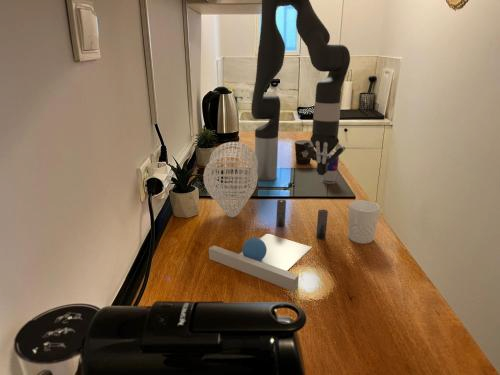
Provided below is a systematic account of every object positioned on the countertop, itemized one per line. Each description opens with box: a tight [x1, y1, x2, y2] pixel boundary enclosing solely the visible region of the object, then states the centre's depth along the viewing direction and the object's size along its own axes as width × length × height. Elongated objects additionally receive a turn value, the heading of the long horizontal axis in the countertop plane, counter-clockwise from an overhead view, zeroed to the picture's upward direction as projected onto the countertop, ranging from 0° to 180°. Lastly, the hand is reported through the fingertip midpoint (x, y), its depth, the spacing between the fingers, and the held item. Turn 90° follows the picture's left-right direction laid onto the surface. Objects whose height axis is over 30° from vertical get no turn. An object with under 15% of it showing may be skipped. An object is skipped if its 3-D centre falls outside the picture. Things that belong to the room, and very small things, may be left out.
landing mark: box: [239, 233, 313, 272], centre depth 100 cm, size 14×14×1 cm
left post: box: [275, 198, 287, 229], centre depth 113 cm, size 3×3×8 cm
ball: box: [241, 237, 266, 261], centre depth 94 cm, size 6×6×6 cm
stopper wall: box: [208, 245, 300, 292], centre depth 90 cm, size 24×2×3 cm, turn 56°
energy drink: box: [322, 150, 340, 185], centre depth 150 cm, size 5×5×12 cm
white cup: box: [347, 199, 381, 245], centre depth 105 cm, size 8×8×10 cm
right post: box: [315, 209, 329, 240], centre depth 106 cm, size 3×3×8 cm
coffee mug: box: [294, 139, 315, 166], centre depth 174 cm, size 12×9×10 cm
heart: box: [202, 141, 258, 218], centre depth 116 cm, size 28×16×22 cm, turn 179°
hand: (321, 174), depth 116 cm, fingers closed
